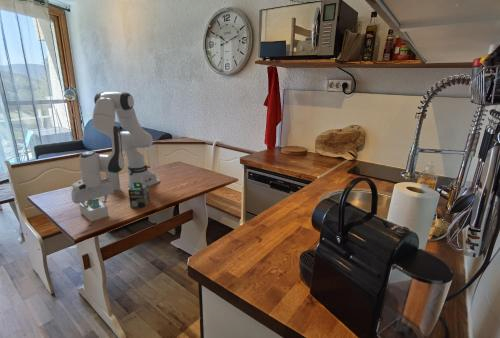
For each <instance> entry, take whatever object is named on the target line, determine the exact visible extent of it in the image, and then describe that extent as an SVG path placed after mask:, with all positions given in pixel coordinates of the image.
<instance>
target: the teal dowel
mask: <svg viewBox="0 0 500 338" xmlns="http://www.w3.org/2000/svg"><path fill="white" fill-rule="evenodd" d="M99 201H100V200H99V198H95V199H92V203H93V209H95V208H98V207H99Z"/></svg>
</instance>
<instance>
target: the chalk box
mask: <svg viewBox="0 0 500 338" xmlns="http://www.w3.org/2000/svg"><path fill="white" fill-rule="evenodd" d="M136 184H139V185H136ZM149 188H150V187H149V186H148V185H142V183H134V185H133V186H132V187H129V189H128V190H127V191H128V198H129V199H128V200H129V206H130V208H146V207H147V206H148V205H149V203H150V201H151V199H150V190H149Z"/></svg>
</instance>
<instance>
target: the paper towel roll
mask: <svg viewBox="0 0 500 338" xmlns="http://www.w3.org/2000/svg"><path fill="white" fill-rule="evenodd" d="M107 178H110V179H112V182H113V184H112V185H113V188H114V191H118V190H121V184H120V181H121V180H120V173H119V172H118V173H113V172H105V179H107Z"/></svg>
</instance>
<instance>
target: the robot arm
mask: <svg viewBox="0 0 500 338" xmlns="http://www.w3.org/2000/svg"><path fill="white" fill-rule="evenodd" d="M134 104H135V101H134V97H133V96H132V94H130V93H129V92H125V91H123V92H122V91H105V92H104V91H101V92H97V93H96V94H95V96H94V108H93V114H92V125H93V128H94V129H95V130H96V131H98V132H100V133H102V134H104V135H106V136H108V137H109V138H110V139H111V140H110V141H111V154H103V153H97V152H96V151H94V150H87V151H83V152H81V153H80V154H79V158H78V160H79V161H78V162H79V171H80V173H81V179H79V180H77V181H75V182H74V183H72V184H71V187H72V189H71V201H72V202H73V203H74V204H80V203H82V204H83V205H84V208H85V209H87V208H88V205H87V204H86V205H85V204H84V203H85V202H87V201H88V200H92V199H96V198H97V199H99V198H101V197H103V199H101V200H102V201H101V202H102V203H104V204H106V203H107V199H108V197H109V196H110V195H113V194H114V192H115V190H114V188H113V185H112V184H113V182H112V179H110V178H107V179H106V178H103V179H102V176H101V175H102V174H101V173H100V172H105V173H106V172H113V173H119V172H121V171H123V169H124V167H125V160H124V155H123V152H124V153H125V155H126V158H127V159H126V160H127V172H128V183H127V186H128V187H129V188H131V187H132V186H133V185H134V183H142V185H148V187H150V186H152V185H156V184H157V183H160V182H161V180H160V179H159V178H158V177H157V175H156V173H155V172H153V171H152V170H149V169H150V168H151V165H148V164H146V163H145V155H144V153H142V152H141V151H139V149H144V148H150V147H151V146H152V145H153V142H154V139H153V136H152V134H151V133H149V132H147V130H145V129H144V128H143V127H142V126H141V124H140V122H139V120H138V118H137V114H136V111H135V109H134ZM116 116H117V119H118V121H119V125H120V127H121V128H122V129H123V130H125V131H121V130H120V128H119V127H118V126H117V125H116ZM138 148H139V149H138ZM136 185H139V184H136Z"/></svg>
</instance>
